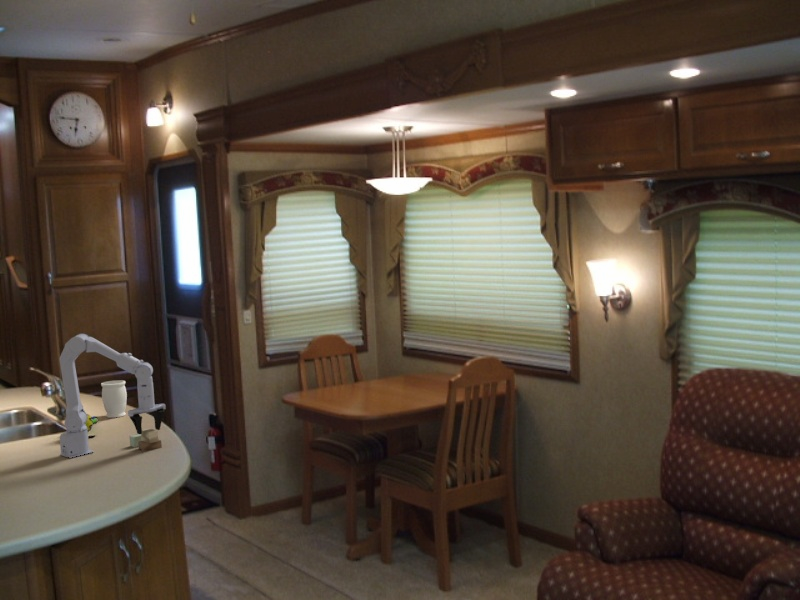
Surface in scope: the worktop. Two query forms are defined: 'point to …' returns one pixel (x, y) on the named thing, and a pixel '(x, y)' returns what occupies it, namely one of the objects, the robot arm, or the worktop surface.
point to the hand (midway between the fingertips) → (148, 431)
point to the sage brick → (135, 440)
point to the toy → (90, 422)
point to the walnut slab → (149, 445)
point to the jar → (114, 398)
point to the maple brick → (149, 435)
